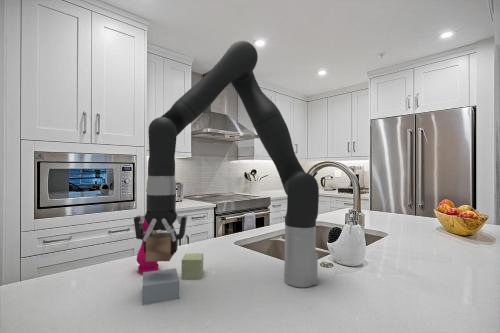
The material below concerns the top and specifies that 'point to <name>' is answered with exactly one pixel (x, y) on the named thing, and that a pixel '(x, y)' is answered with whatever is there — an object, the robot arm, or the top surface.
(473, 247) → the top surface
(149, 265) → the pepper mill
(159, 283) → the slate base block
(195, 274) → the olive block
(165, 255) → the walnut block
